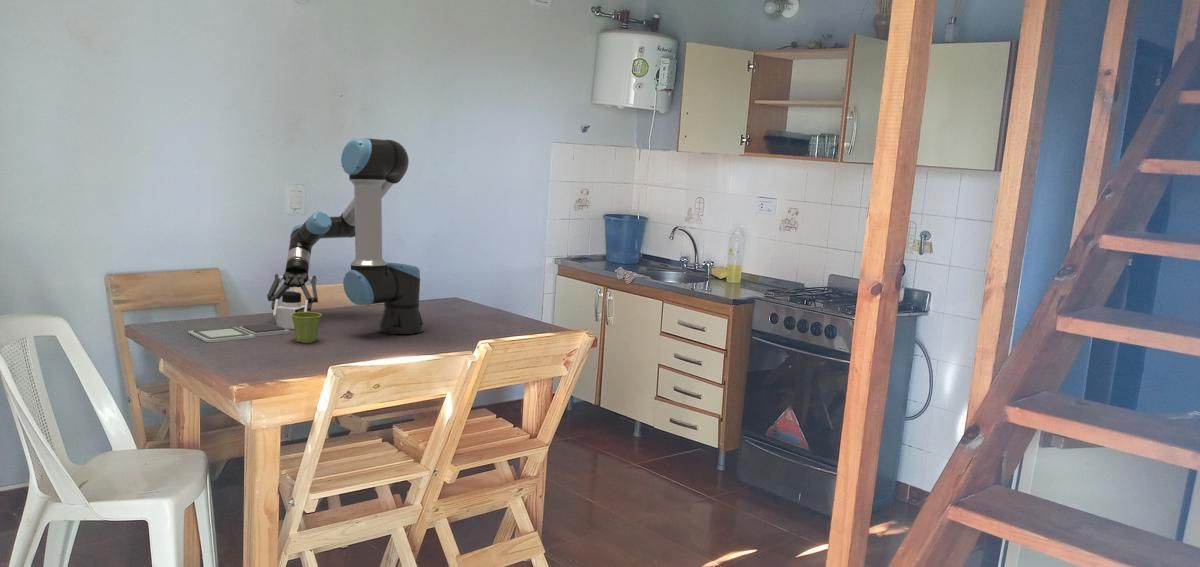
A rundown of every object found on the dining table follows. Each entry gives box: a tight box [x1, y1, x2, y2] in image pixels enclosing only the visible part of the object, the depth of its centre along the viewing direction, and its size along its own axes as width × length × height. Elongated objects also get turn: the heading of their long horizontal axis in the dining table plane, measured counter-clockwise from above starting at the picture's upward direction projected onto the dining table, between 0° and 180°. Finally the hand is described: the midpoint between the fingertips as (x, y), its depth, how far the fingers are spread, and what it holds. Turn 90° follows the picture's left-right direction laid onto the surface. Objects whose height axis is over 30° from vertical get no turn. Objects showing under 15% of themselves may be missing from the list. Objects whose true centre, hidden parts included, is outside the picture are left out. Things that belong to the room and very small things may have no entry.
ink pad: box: [237, 322, 291, 338], centre depth 302 cm, size 12×12×1 cm
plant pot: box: [291, 311, 323, 344], centre depth 292 cm, size 9×9×9 cm
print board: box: [187, 326, 256, 343], centre depth 293 cm, size 15×15×1 cm
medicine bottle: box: [275, 290, 305, 330], centre depth 311 cm, size 7×7×12 cm
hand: (289, 317), depth 309 cm, fingers closed on medicine bottle, 9 cm apart
